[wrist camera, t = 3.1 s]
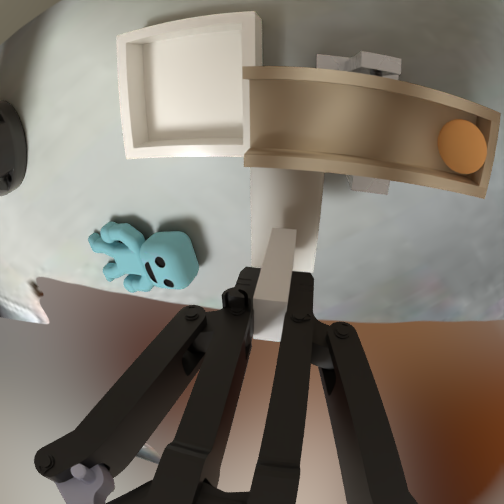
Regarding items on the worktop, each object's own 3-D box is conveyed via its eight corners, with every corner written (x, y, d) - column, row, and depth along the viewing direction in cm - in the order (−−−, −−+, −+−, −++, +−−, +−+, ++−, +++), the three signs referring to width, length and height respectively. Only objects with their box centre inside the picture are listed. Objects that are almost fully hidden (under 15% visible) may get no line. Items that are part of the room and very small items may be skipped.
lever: (253, 260, 22) (246, 282, 20) (251, 69, 14) (242, 66, 12) (437, 277, 20) (447, 298, 17) (479, 107, 12) (500, 113, 10)
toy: (74, 235, 31) (162, 230, 25) (98, 217, 35) (187, 208, 29) (104, 297, 36) (193, 311, 30) (124, 276, 40) (211, 283, 34)
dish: (144, 149, 26) (126, 159, 24) (137, 38, 20) (116, 35, 17) (262, 147, 25) (256, 157, 22) (262, 20, 18) (255, 10, 15)
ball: (426, 159, 14) (447, 176, 12) (432, 110, 13) (456, 117, 10) (466, 168, 14) (490, 186, 11) (473, 122, 12) (500, 133, 10)
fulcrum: (312, 159, 24) (314, 193, 17) (316, 54, 19) (320, 39, 12) (422, 174, 23) (461, 213, 16) (434, 76, 17) (483, 78, 10)
